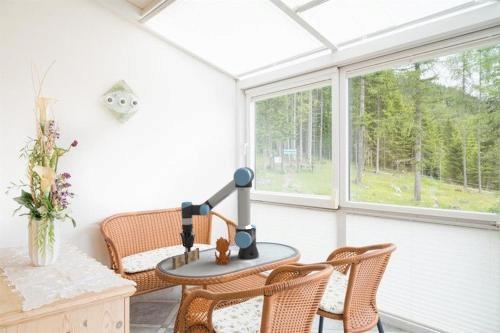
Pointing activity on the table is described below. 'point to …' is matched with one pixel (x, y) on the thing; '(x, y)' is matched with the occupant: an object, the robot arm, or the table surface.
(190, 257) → the fence panel hinged
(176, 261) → the fence panel fixed
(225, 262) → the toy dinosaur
